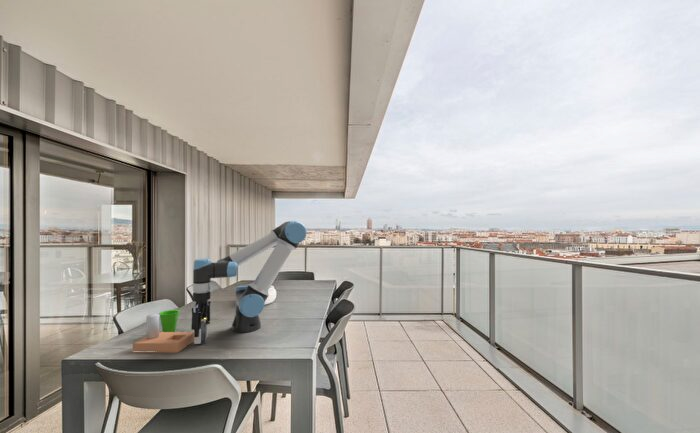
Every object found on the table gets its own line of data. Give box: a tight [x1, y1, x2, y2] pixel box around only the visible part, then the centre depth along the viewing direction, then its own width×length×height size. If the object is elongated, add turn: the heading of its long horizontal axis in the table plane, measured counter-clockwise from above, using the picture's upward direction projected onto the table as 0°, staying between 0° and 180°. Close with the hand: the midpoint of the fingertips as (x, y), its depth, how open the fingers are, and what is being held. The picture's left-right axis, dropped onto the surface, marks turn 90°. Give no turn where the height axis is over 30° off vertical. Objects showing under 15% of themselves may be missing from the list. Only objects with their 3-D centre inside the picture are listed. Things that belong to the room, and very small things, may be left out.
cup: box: [159, 309, 180, 332], centre depth 154 cm, size 9×9×11 cm
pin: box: [195, 317, 207, 346], centre depth 141 cm, size 5×5×12 cm
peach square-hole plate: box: [132, 313, 194, 353], centre depth 138 cm, size 20×14×14 cm
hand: (200, 340), depth 141 cm, fingers open, 6 cm apart
